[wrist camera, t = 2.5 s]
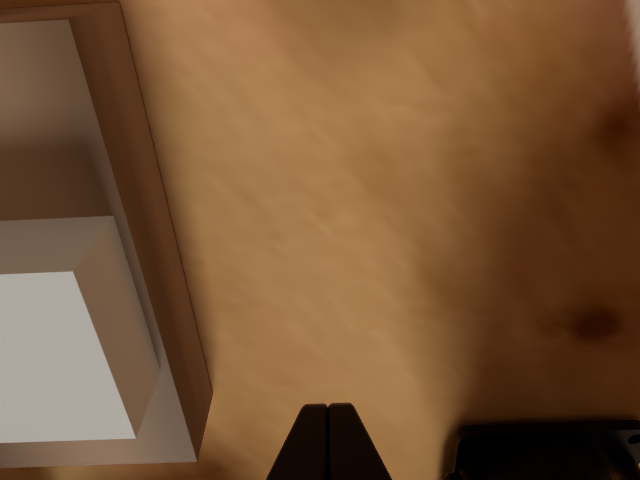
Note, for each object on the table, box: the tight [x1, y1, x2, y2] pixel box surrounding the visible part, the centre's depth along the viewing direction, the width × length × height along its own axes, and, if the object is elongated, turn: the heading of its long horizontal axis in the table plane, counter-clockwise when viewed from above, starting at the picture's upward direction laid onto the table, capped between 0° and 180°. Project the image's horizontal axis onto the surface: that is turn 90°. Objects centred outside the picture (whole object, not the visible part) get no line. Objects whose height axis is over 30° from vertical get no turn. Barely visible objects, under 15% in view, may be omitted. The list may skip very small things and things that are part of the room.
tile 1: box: [0, 216, 161, 443], centre depth 11 cm, size 4×4×2 cm
